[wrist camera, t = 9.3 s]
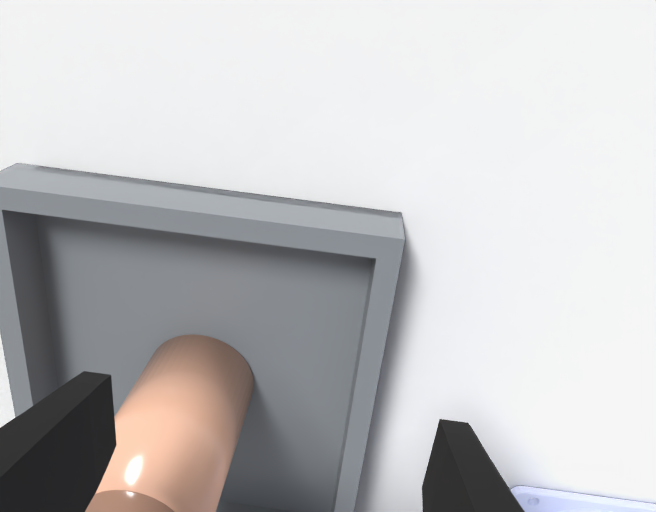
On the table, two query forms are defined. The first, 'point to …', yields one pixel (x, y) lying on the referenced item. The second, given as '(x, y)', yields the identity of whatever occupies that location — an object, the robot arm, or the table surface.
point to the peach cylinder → (177, 429)
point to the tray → (207, 311)
